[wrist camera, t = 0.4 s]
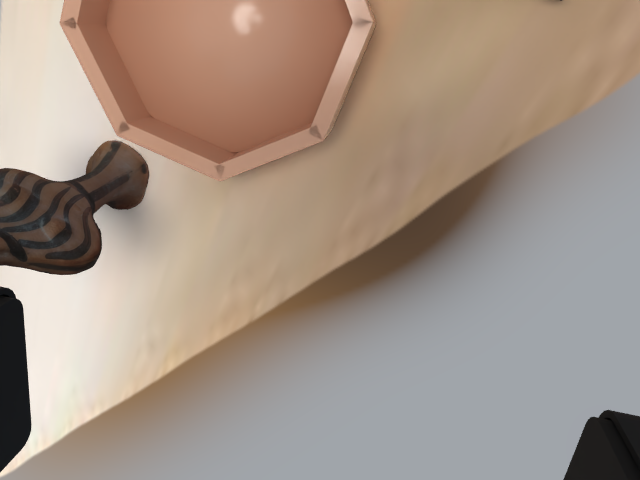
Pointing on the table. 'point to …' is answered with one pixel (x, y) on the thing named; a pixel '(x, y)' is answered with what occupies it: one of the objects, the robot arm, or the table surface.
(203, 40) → the bowl
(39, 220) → the figurine
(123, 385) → the table surface
